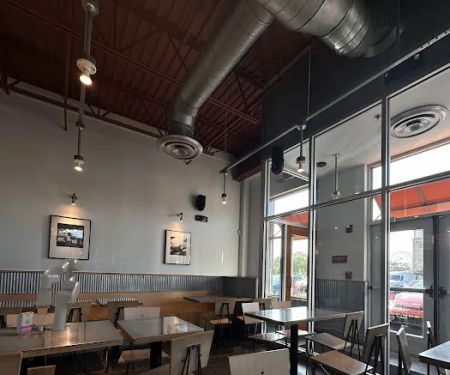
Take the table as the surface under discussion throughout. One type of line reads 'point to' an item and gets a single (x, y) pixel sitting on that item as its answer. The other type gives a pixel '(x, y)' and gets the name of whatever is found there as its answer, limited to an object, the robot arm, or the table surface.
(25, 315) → the candy bar box
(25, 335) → the post board
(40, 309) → the collar
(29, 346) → the table surface
